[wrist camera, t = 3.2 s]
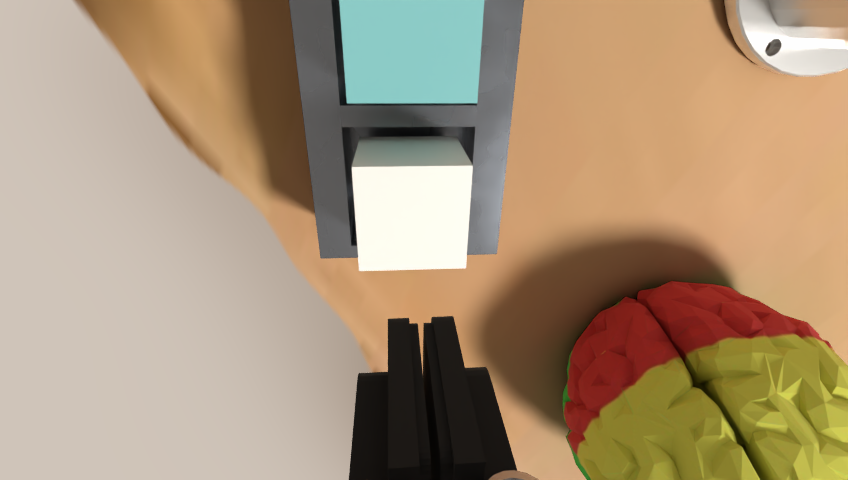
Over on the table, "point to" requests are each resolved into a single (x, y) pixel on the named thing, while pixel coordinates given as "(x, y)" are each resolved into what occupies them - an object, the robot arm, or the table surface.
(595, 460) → the brain model
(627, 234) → the table surface
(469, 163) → the ivory key
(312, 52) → the console
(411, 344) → the robot arm
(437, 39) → the teal key
